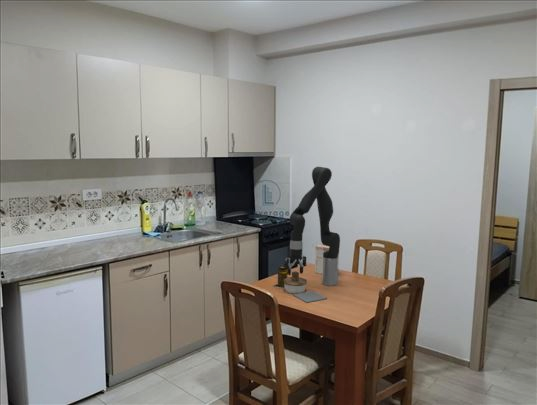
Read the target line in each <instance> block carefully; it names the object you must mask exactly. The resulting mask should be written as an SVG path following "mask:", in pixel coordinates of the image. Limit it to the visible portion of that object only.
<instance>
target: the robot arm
mask: <svg viewBox="0 0 537 405" xmlns="http://www.w3.org/2000/svg"><path fill="white" fill-rule="evenodd" d="M332 174H333V173H332V170H331V169H330V168H328V167H326V166H325V167H323V166H316V167H314V168H313V169H312V172H311V179H312V182H313V187H311V189H310V190H308V191H307V192H306V193H305V194H304V195H303V197H302V198H301V201H300V202H299V204H298V206H297V207H296V208H295V209H294V210H293V211H292V213H291V214H290V216H289V218H288V219H289V224H291V225H292V226H294V227H293V230H291V231H290V241H289V257H285V258H284V265H283V266H284V267H285V268H287V274H288V275H287V276H292V268H293V266H295V265H299V274H302V275H303V273H304V267H306V266H307V256H305V255H303V245H304V244H303V234H304V230H305V226H306V219H305V216H304V215H305V214H308V213H309V212H310V210H311V208H312V206H313V204H314V203H315V201H316V203H317V205H316V206H317V211H318V217H319V219H318V220H319V225H320V227H319V228H320V242H321V244H323V245H325V246H329V251H326V252H324V253H323V274H321V275H322V278H321V283H322V284H323V285H324V286H330V287H331V286H336V285H338V284H339V269H337V265H338V254H339V255H340V246H341V237H340V234H339V233H337V232H333V231H330V221H331V219H332V217H333V215H334V206H333V200H332V198H331V196H330V194H329V193H328V191H327V188H326V186H327V185H328V183H329V182H330V181H331V179H332Z"/></svg>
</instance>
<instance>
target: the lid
mask: <svg viewBox="0 0 537 405" xmlns="http://www.w3.org/2000/svg"><path fill="white" fill-rule="evenodd" d="M284 283H285V284H286V285H290V286H302V285H305V284H306V285H307V283H308V280H307V279H306V278H303V277H300V271H299V272H298V271H291V276H289V277H288V276H287V278H285V279H284Z"/></svg>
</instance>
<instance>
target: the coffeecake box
mask: <svg viewBox="0 0 537 405" xmlns="http://www.w3.org/2000/svg"><path fill="white" fill-rule="evenodd" d="M326 251H329V246H325V245H323V244H322V243H319V244H315V258H314V260H315V261H314V274H320V275H323V253H324V252H326ZM339 261H340V253H339V254H338V265H337V269H339V265H340V264H339V263H340V262H339Z"/></svg>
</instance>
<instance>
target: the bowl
mask: <svg viewBox="0 0 537 405" xmlns="http://www.w3.org/2000/svg"><path fill="white" fill-rule="evenodd" d="M306 285H307V284H305V285H302V286H290V285H286V284H284V288H283V289H284V291H285V292H286V293H289V294H291V295H293V294H298V293H304V292H306V287H307V286H306Z"/></svg>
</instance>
